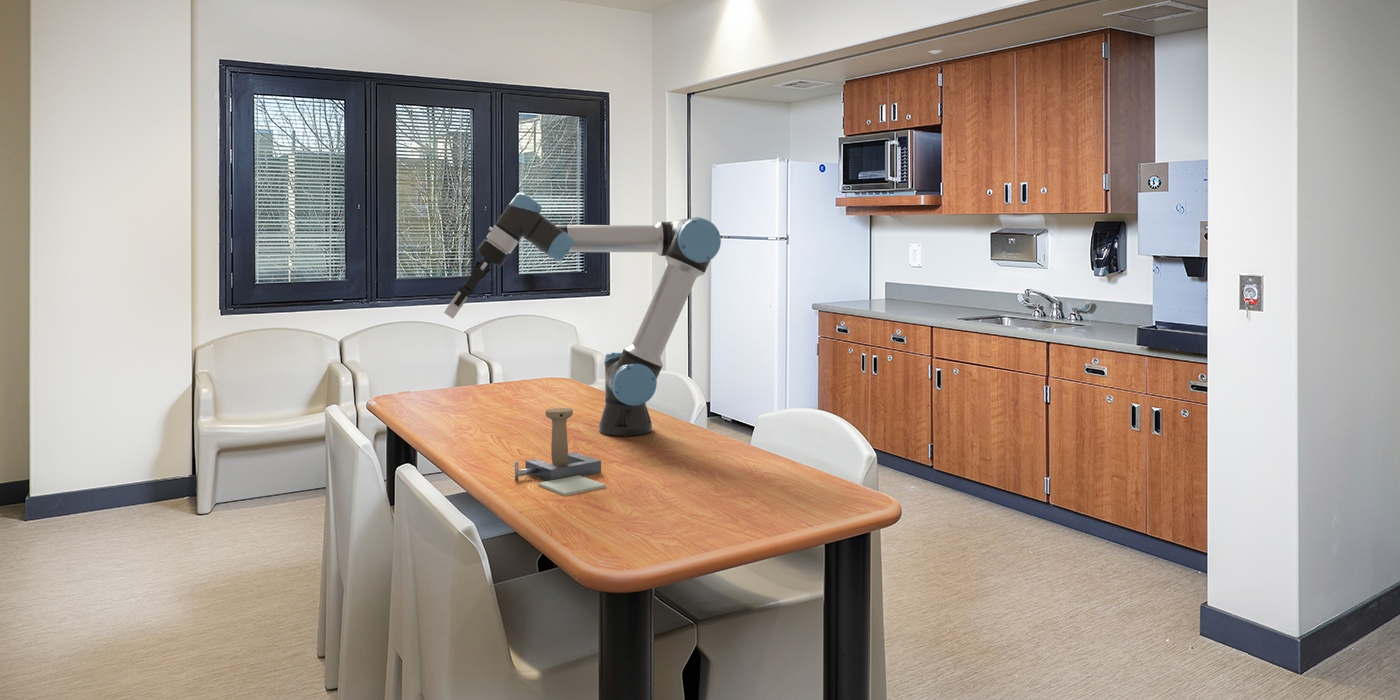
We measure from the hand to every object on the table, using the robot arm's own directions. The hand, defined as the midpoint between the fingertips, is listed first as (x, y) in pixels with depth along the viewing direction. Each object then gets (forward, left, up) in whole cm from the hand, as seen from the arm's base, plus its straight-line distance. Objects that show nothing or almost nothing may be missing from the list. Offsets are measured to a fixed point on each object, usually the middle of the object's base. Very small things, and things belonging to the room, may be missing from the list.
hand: (449, 313), depth 250 cm
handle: (-8, +39, -36) cm, 54 cm away
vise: (-6, +41, -36) cm, 54 cm away
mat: (-3, +52, -36) cm, 63 cm away
